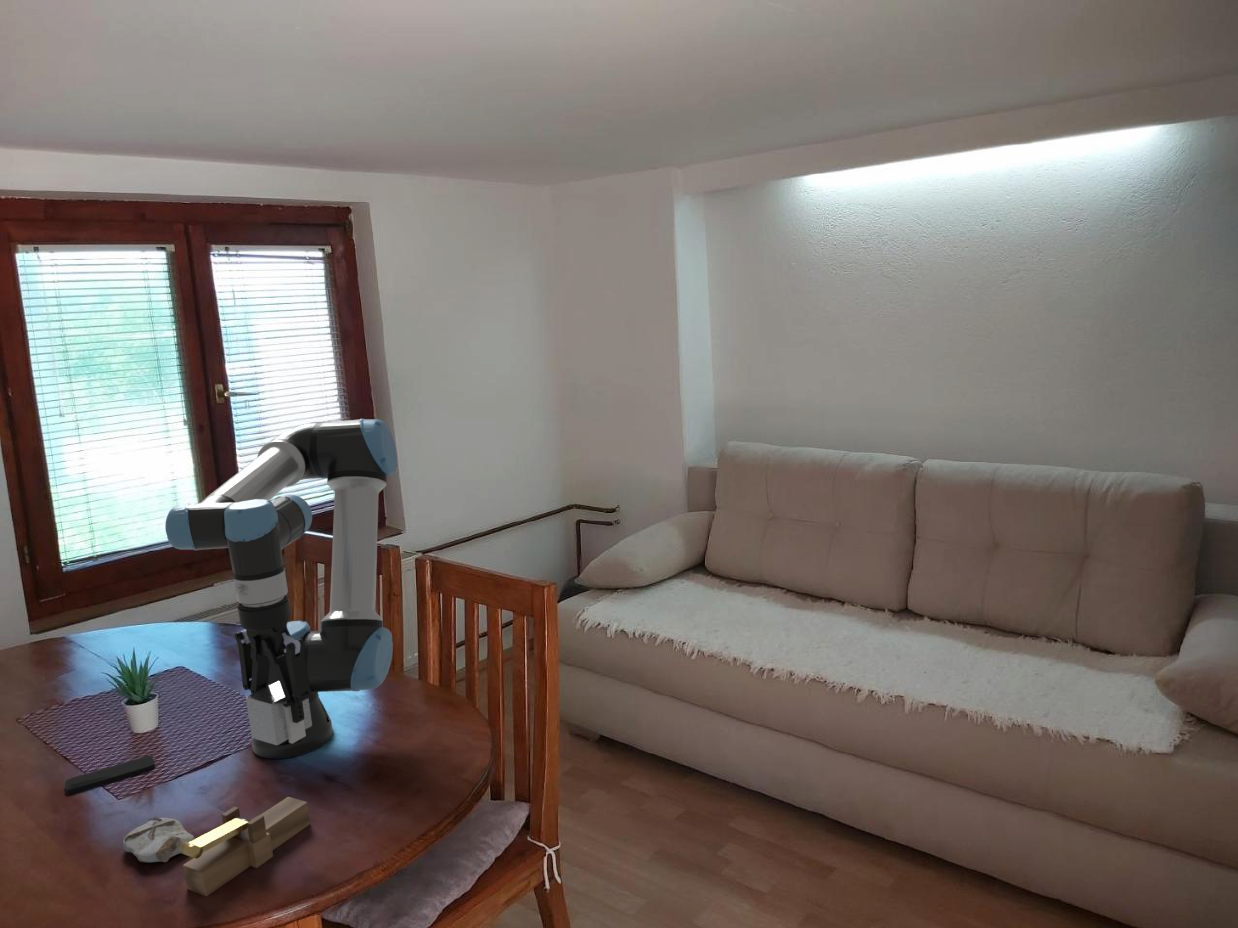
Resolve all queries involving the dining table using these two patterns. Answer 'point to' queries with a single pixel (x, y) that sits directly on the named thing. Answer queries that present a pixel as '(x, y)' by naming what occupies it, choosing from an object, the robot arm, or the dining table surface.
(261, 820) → the tan wooden beam joint
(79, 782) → the remote control
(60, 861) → the dining table surface
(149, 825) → the stone
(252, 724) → the brushed steel cube
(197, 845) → the lever
